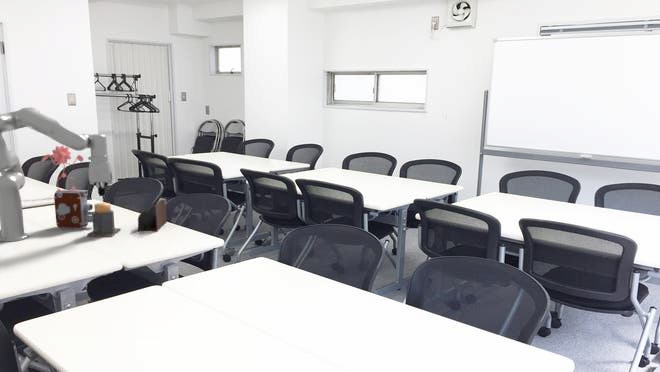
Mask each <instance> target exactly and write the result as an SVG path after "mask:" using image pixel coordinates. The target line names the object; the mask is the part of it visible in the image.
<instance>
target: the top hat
mask: <svg viewBox="0 0 660 372" xmlns="http://www.w3.org/2000/svg"><path fill="white" fill-rule="evenodd" d="M91 212H92V218H93V222H92V229H93V230H92V231H90V232H89V233H87V234H86V236H87V238H96V237H97V238H100V237H101V238H106V237H107V238H108V237H109V238H112V237H114V236H115V235H116V234H118V233H120V231H121V227H120V228H119V227H118V228H117V227H116V226H115V215H114V213H115V212H114V211H113V210H112V209H111V212H110V213H105V214H96V213H95V210H94V211H91Z"/></svg>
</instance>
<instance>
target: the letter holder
mask: <svg viewBox="0 0 660 372" xmlns="http://www.w3.org/2000/svg"><path fill="white" fill-rule="evenodd" d="M166 210H167V208H166V199H161V200H159V201H158V202H157V203H156V204H154V205H152V206H151V207H150V208H147V209H145V210H143V211H142V212H140V214H138V218H137V231H138V232H139V231H151V232H158V231H159V230H160V229H161V228H162V227H163V226H164V225H166V224H167V222H168V221H167V211H166Z"/></svg>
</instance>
